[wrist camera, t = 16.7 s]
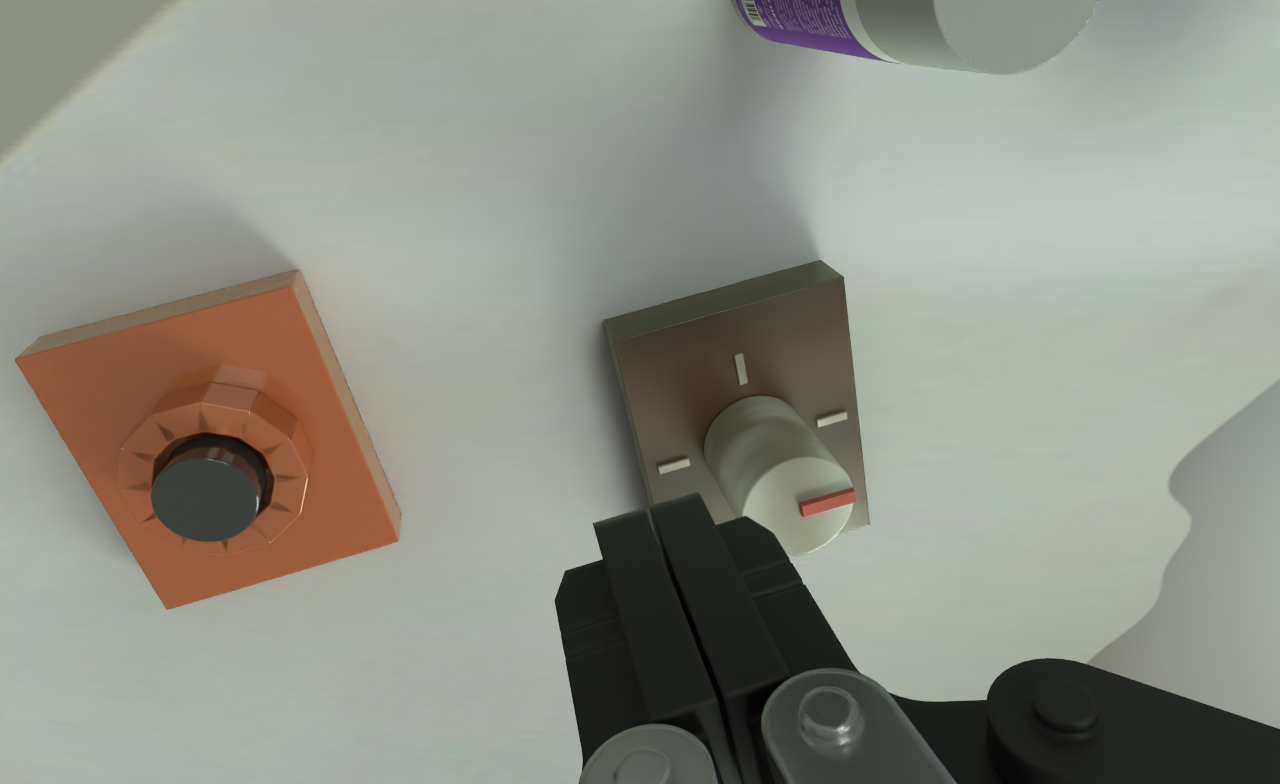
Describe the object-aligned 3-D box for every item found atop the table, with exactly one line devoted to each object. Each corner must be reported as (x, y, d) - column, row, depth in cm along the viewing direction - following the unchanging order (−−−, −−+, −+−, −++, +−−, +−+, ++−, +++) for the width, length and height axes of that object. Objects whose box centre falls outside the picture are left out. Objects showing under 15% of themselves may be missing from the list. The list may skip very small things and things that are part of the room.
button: (146, 450, 32) (131, 474, 30) (244, 423, 32) (233, 446, 31) (189, 528, 33) (177, 554, 32) (282, 501, 34) (274, 526, 32)
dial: (712, 498, 39) (753, 576, 34) (695, 411, 37) (735, 480, 32) (807, 470, 40) (862, 543, 34) (796, 383, 37) (852, 446, 32)
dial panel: (602, 319, 37) (613, 342, 35) (820, 259, 38) (845, 277, 36) (661, 555, 43) (674, 588, 41) (848, 497, 44) (871, 527, 42)
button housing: (38, 337, 33) (-11, 379, 29) (299, 267, 34) (282, 301, 30) (180, 579, 38) (153, 640, 35) (401, 514, 39) (397, 567, 36)
